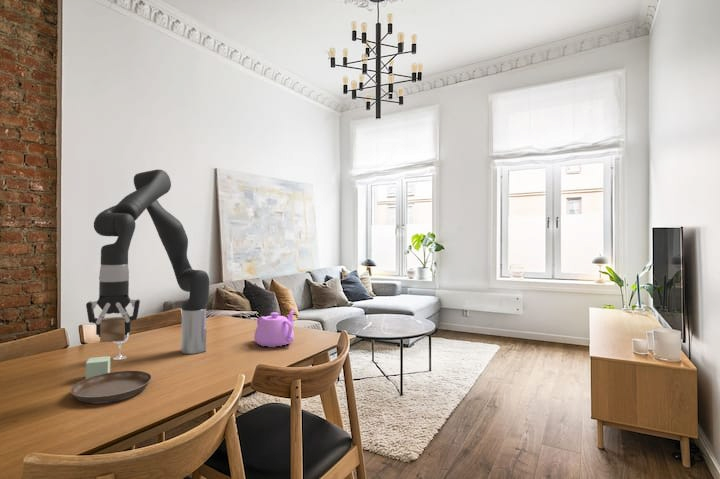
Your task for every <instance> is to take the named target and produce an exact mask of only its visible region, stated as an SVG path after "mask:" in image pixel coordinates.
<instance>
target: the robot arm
mask: <svg viewBox="0 0 720 479" xmlns="http://www.w3.org/2000/svg"><path fill="white" fill-rule="evenodd" d="M170 178H171V177H170V176H169V174H168V173H167V172H166V171H165V170H163V169H152V170H148V171H144V172H143V171H142V172H138V173H136V174H135V175H134V176H133V185H134V188H135V191H132V192H130V193H129V194H127V195H126V196H124V197H123V198H122V199H121V200H120V201H119V202H118V203H117V204H116V205H112V206H110V207H108V208H106V209H105V210H102V211H100V213H98V214H97V215H96V217H95V218H94V222H93V229H94V231H95V233H97V234H98V235H99V236H101V237H102V236H103V237H117V239H116V240H115V242H113V243H108V244H104V245H103V246H101V249H100V267H99V274H98V280H99V282H98V285H99V287H98V290H99V291H98V292H99V293H98V299H97V300H96V301H95V300H94V301H91V300H90V301H88V302H87V303H86V304H85V306H86V307H85V308H86V313H87V318H88V319H87V320H88V323H90V324H91V323H92V324H95V325H96V326H95V327H96V328H95V329H96V331H95V334H96V335H97V336H98V338H100V322H101V321H102V320H103V318H106V317H105V316H106V315H111V314H120V315H121V317H123V318H124V319H125V321H126V322H125V335H127V334H128V333H129V334H130V332H131V324H132V323H131V322H133V321H136V320H137V319H138V314H139V308H140V303H141V300H140V299H139V298H137V299H131V298H130V296H129V295H130V294H129V291H130V290H129V286H130V285H129V284H130V282H129V281H130V280H129V279H130V271H129V250H130V247H131V246H130V245H131V242H132V239H133V236H134V233H135V229H136V221H137V219H139V217H140V216H141V215H142V214H143V213H144V211H147V212H148V214H149V217H150V219H151V220H152V223H153V225H154V227H155V229H156V231H157V235H158V237H159V240H160V242H161V243H162V245H163V248H164V250H165V251H166V254H167V257H168V259H169V261H170V264H171V268H172V269H173V273H174V277H175V279H176V282H177V284H178V286H179V288H180V290H181V291H183V292H187V293H189V297H188V299H187V300H185V301H183V302H182V304H181V332H180V333H181V337H180V339H181V340H180V341H181V344H180V349H181V350H180V352H181V353H182V354H185V355H187V354H189V355H193V354H200V353H203V352H207V304H208V302H209V295H210V277H209V275H208V273H207V272H206V271H204V270H202V269H201V270H200V269H193V268H192V265H191V264H190V262H189V258H188V247H189V239H188V235H187V233H186V230H185V228H184V226H183V223H182V222H181V221H180V220H179V219H178V218H176V217H175V215H173V214H172V213H170V212H169V211H167V210H166V209H165V208H164V207H163V205H161V203H160V202H159V199H160V198H161V197H163V196H164V195H165V194H167V193H169V192H170V190H171V187H172V182H171V179H170ZM129 304H131V307H133V312H132V315H131V316H130V315H129V312H128V310H127V309H126V308H127V307H128V306H129ZM97 306H98V307H99V308H100V309H101V312H100V313H99V316H98V317H97V318H96V317H95V312H94V310H95V309H96V307H97Z"/></svg>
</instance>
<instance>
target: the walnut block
mask: <svg viewBox="0 0 720 479" xmlns="http://www.w3.org/2000/svg"><path fill="white" fill-rule="evenodd" d="M125 322H126V321H125V319H124V318H123V316H117V317H116V316H115V317H114V316H113V317H104V318H103V320H102V321H101V322H100V337H99V342H100V343H109V342H113V341H124V339H125V337H126V335H125ZM113 343H114V342H113Z"/></svg>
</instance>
